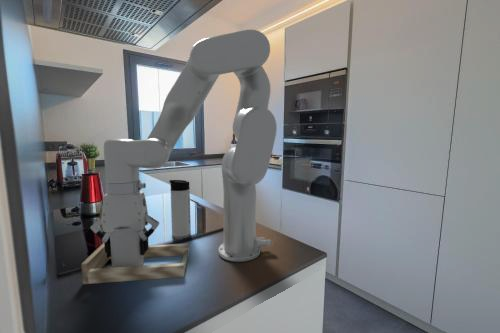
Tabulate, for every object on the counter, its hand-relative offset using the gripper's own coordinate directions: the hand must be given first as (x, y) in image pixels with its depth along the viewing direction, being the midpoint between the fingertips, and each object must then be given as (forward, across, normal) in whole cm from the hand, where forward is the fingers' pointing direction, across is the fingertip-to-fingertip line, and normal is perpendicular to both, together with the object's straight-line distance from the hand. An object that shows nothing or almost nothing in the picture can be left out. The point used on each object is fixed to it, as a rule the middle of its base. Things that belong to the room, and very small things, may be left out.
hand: (127, 253), depth 64 cm
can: (+4, 0, 0) cm, 4 cm away
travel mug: (+4, -11, -19) cm, 22 cm away
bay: (+4, -4, 0) cm, 5 cm away
